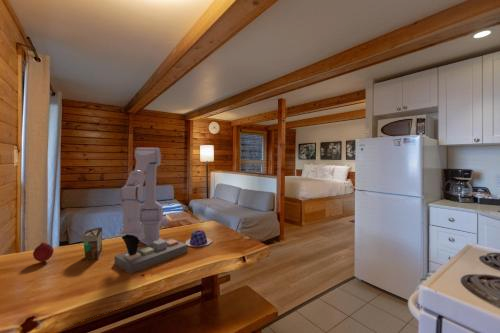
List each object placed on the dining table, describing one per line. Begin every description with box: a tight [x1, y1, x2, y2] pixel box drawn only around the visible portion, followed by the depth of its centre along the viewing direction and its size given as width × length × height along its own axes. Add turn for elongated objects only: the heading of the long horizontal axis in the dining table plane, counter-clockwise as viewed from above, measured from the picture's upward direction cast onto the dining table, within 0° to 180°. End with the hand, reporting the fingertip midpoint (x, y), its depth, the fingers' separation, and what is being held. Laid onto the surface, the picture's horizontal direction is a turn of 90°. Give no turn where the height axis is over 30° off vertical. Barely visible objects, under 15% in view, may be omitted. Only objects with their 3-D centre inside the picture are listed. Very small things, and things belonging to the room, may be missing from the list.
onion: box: [32, 240, 55, 263], centre depth 91 cm, size 6×6×8 cm
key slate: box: [152, 238, 167, 251], centre depth 98 cm, size 4×4×3 cm
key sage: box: [139, 247, 154, 255], centre depth 94 cm, size 4×4×3 cm
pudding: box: [184, 230, 212, 248], centre depth 112 cm, size 12×12×5 cm
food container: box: [80, 226, 103, 261], centre depth 96 cm, size 12×6×10 cm, turn 23°
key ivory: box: [124, 252, 141, 261], centre depth 89 cm, size 4×4×3 cm
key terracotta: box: [167, 238, 179, 247], centre depth 102 cm, size 4×4×3 cm
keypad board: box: [114, 238, 189, 274], centre depth 96 cm, size 12×24×3 cm, turn 142°
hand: (132, 254), depth 89 cm, fingers closed, pressing on key ivory
